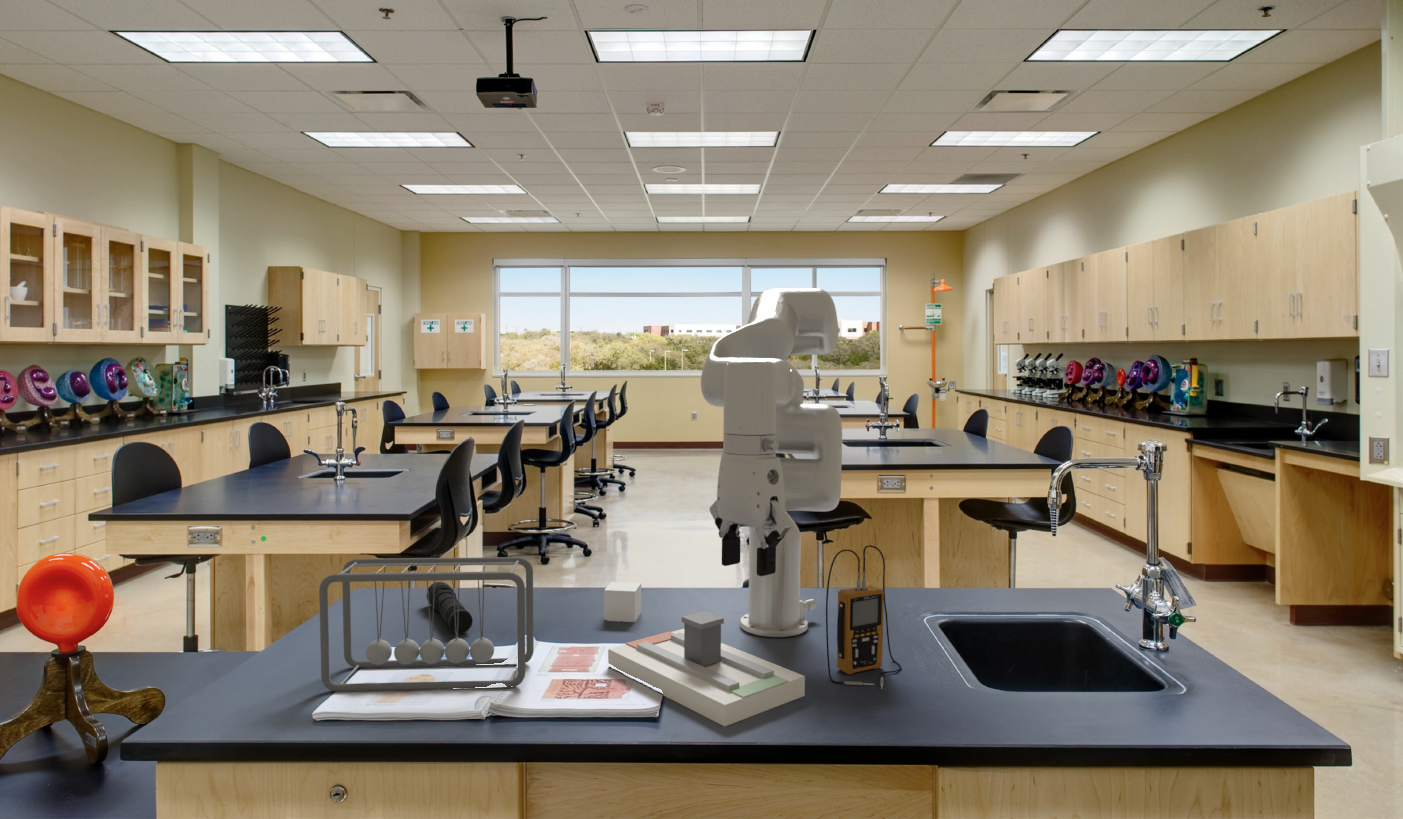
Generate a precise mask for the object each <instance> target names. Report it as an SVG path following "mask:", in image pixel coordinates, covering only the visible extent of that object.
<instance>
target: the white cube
mask: <svg viewBox="0 0 1403 819" xmlns="http://www.w3.org/2000/svg"><path fill="white" fill-rule="evenodd" d="M603 594H604V596H603V601H604V602H603V608H604V609H603V615H604V616H603V617H604V618H603V621H604V620H607V621H606V622H621V621H622V622H623V623H625V622H627V623H636V622H637V620H638V618H639V617H640V615H641V614H642V582H628V581H625V582H624V581H610V583H609V584H608V585H607V586H606V587H605V588H604V590H603Z"/></svg>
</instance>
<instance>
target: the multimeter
mask: <svg viewBox="0 0 1403 819" xmlns="http://www.w3.org/2000/svg"><path fill="white" fill-rule="evenodd" d="M867 548H874V549H876V550H877V551H878V552H879V554H880V555H881V558H882V566H883V569H882V570H883V571H882V588H880V587H877V586H874V585H872V584H871V585H867V583H866V582H867V581H866V549H867ZM843 552H849V553H850V552H851V553H853V554H854V556H855V557H856V558H857V567H858V568H857V580H856V587H851V588H844V589H840V590H839V591H838V592H837V621H836V622H837V624H836V625H837V627H836V629H837V630H836V631H837V632H836V641H837V642H836V643H837V644H836V645H837V649H836V650H837V654H836V656H837V657H836V658H837V660H836V661H837V662H836V668H837V670H840V671H842V672H843V673H846V674H847V675H853V674H855V673H859V672H865V671H869V670H872V669H874V670H878V669H880V668H881V667H882V666H883V642H884V613H885V624H886V638H887V639H886V640H887V648H888V652H889V655H890V659H891V660H892V661H893V663H895V664H896V665H897V664H898V665H897V666H898V667H899V668H898V669H896V670H891V671H890V670H889V671H882V672H881V673H880V678H879V679H880V680H879V686H880V689H881V690H883V686H884V677H883V674H890V673H891V674H892V673H897V672H899V671H901V670H902V665H901V664H900V663H898V661H896V660H895V659H894V658H893V655H892V651H891V645H890V638H889V637H890V636H889V623H888V611H887V603H886V594H885V593H886V591H885V590H886V586H885V580H886V579H885V576H886V573H885V572H886V564H885V563H886V561H885V558H884V555H883V552H882V551H881V550H880V549H879V548H878V547H877V546H874V545H866V546H864V547H863V551H862V552H863V556H862V557H863V559H862V560H863V564H862V565H863V567H862V568H863V569H862V580H861V572H860V567H861V566H860V565H861V564H860V563H861V562H860V561H861V560H860V557H859V555H858V554H857V553H856V552H855V551H854V550H852V549H841V550H840V551H838V552H837V553H836V554H835V555H834V557H833V559H832V561H831V564H830V568H829V571H828V572H829V573H828V578H827V585H826V594H825V595H826V596H825V597H826V598H825V601H826V602H825V632H826V634H825V635H826V637H825V638H826V658H827V669H828V670H827V671H828V677H829V679H830V681H831V682H832V683H834V684H841V685H848V686H849V685H850V686H861V687H862V686H863V685H867V686H875V685H876V684H874V683H866V682H865V683H864V682H863V681H835V680H833V677H832V675H831V667H830V651H829V649H830V648H829V624H828V622H829V621H828V606H829V588H830V581H831V580H830V579H831V576H832V575H831V573H832V570H833V566H834V562H835V560H836V559H837V556H839V555H840V554H841V553H843Z"/></svg>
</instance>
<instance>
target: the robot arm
mask: <svg viewBox="0 0 1403 819" xmlns="http://www.w3.org/2000/svg"><path fill="white" fill-rule="evenodd" d="M839 331H840V330H839V321H838V316H837V310H836V305H835V303H834V300H833V298H832V296H831V295H830V294H829V292H827V291H826V290H824V289H822V288H819V287H818V288H799V287H798V288H773V289H768V290H765V291H764V292H762V293H760V294H759V295H758V296H757V298H756V299H755V300H754V302H753V304H752V306H751V311H750V314H749V317H748V321H747V323H746V325H743V326H741V327H739V328H737V329H735V330H733V331H732V332H729V333H727V334H725V335H723V336H722V337H720V338H719V339H718V340H716V341H715V342H714V343H713V344H712V346H711V348H710V349H709V352H708V354H707V357H705V358H706V359H705V361H704V364H703V368H702V372H701V377H700V389H701V394H702V396H703V398H704V400H705V401H706V402H707V403H708V405H711V406H714V407H718V408H719V407H720V408H723V435H722V436H723V438H722V439H723V443H722V444H723V445H722V446H723V448H722V449H723V453H721V457H720V462H719V469H718V476H717V488H716V490H717V491H716V500H715V501H714V502H713V503H712V504H711V506H710V507H709V513H710V514H711V515H712V518H713V520H714V525H715V526H716V527H717V530H718V537H719V538H720V539H721V565H722V566H723V567H724V566H725V567H728V566H731V565H736V564H737V565H738V564H740V563H741V536H740V535H738V533H739V532H740V529H741V526H744V527H748V532H749V534H748V536H749V537H748V540H749V541H748V542H749V543H748V544H749V545H748V613H745V614H744V615H743V616H741V617H740V619H739V626H740V628H741V629H742V630H743V631H744V632H747V633H749V634H750V635H751V634H752V635H754V636H760V637H768V638H786V637H787V638H788V637H794V636H798V635H801V634H804V633H805V632H806V631H807V630H808V628H809V622H808V620H807V619H806V618H805V617H804V614H805V613H806V612H807V611H811V610H814V609H816V607H817V603H816V601H815V599H813V598H810V599H806V600H801V552H802V551H801V550H802V549H801V545H802V544H801V542H802V538H801V532H800V529H799V527H798V525H797V523H796V522H795V521H794V519H793V518H792V517H791V516H790V514H789V513H788V512H789V511H790V512H791V511H792V512H793V511H796V512H797V511H802V512H831V511H833V510H835V509H836V508H837V507H838V505H839V503H840V499H841V492H842V465H843V464H842V460H843V457H842V456H843V424H842V418H841V415H840V412H839V411H838V410H837V408H836V407H835V406H832V405H829V404H825V403H804V391H805V390H804V389H805V383H804V379H803V377H802V375H801V374H800V373H799V371H798V370H797V369H796V367H795V366H794V365H793V364H792V363H791V362H790V361H788V359H787V358H788V357H789V356H790V355H792V356H795V355H800V356H806V355H807V356H808V355H809V356H812V355H814V356H824V355H829V354H831V353H832V352H833V351H834V350H836V347H837V344H838V340H839V333H840V332H839ZM776 454H792V455H812V456H814V457H816V458H796V457H780V456H777V455H776Z"/></svg>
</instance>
